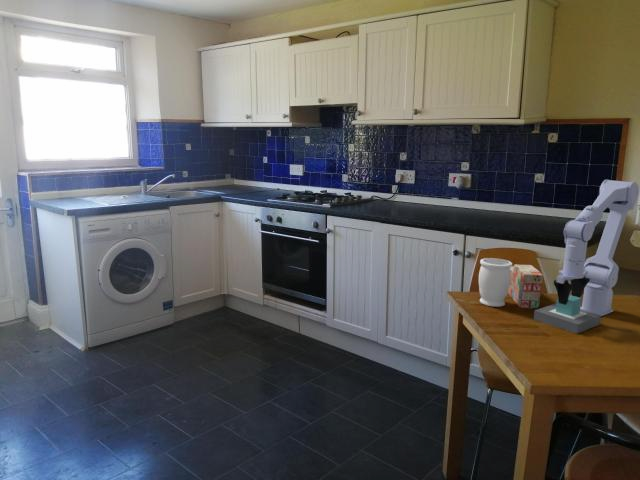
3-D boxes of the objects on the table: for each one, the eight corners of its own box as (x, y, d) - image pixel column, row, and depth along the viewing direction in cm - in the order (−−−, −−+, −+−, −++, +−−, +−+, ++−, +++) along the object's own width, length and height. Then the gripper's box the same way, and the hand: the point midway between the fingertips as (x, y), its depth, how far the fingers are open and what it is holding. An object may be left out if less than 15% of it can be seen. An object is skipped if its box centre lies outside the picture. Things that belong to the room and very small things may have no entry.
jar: (470, 299, 179) (474, 258, 176) (496, 297, 182) (500, 257, 178) (487, 309, 169) (491, 266, 166) (514, 307, 172) (518, 264, 168)
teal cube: (564, 308, 162) (566, 293, 161) (579, 313, 158) (581, 298, 157) (555, 311, 159) (557, 296, 158) (571, 316, 155) (573, 301, 154)
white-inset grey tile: (557, 310, 169) (558, 302, 168) (600, 324, 158) (601, 314, 157) (533, 319, 161) (534, 310, 160) (576, 333, 150) (578, 324, 149)
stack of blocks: (503, 289, 192) (507, 257, 189) (520, 289, 191) (524, 258, 189) (520, 308, 171) (524, 273, 168) (539, 309, 170) (543, 274, 168)
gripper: (574, 253, 162) (569, 293, 165) (549, 259, 154) (544, 302, 157) (596, 258, 156) (590, 299, 159) (571, 265, 148) (566, 308, 151)
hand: (569, 301), depth 158 cm, fingers open, 7 cm apart
